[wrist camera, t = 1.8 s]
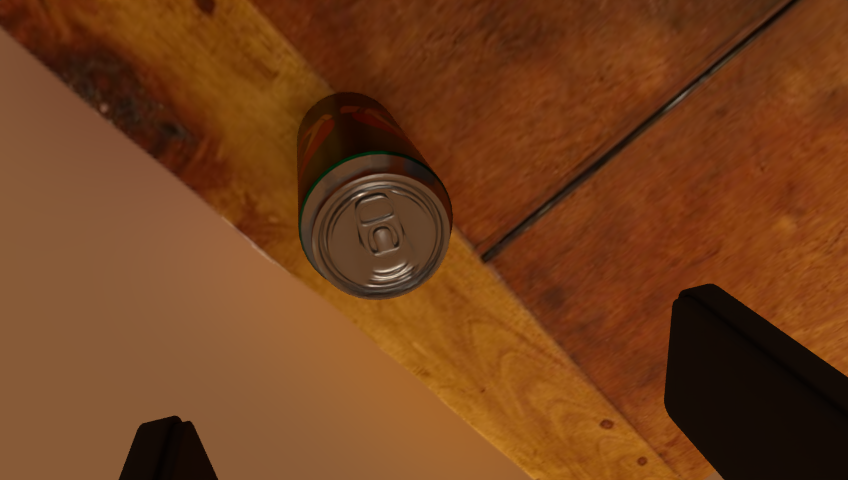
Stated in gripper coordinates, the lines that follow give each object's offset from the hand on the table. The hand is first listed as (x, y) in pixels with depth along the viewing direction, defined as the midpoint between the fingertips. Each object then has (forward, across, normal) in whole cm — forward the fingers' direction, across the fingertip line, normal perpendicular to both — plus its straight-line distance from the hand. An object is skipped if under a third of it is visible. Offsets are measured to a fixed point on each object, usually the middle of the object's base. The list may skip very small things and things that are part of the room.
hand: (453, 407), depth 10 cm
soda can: (+19, 0, 0) cm, 19 cm away
